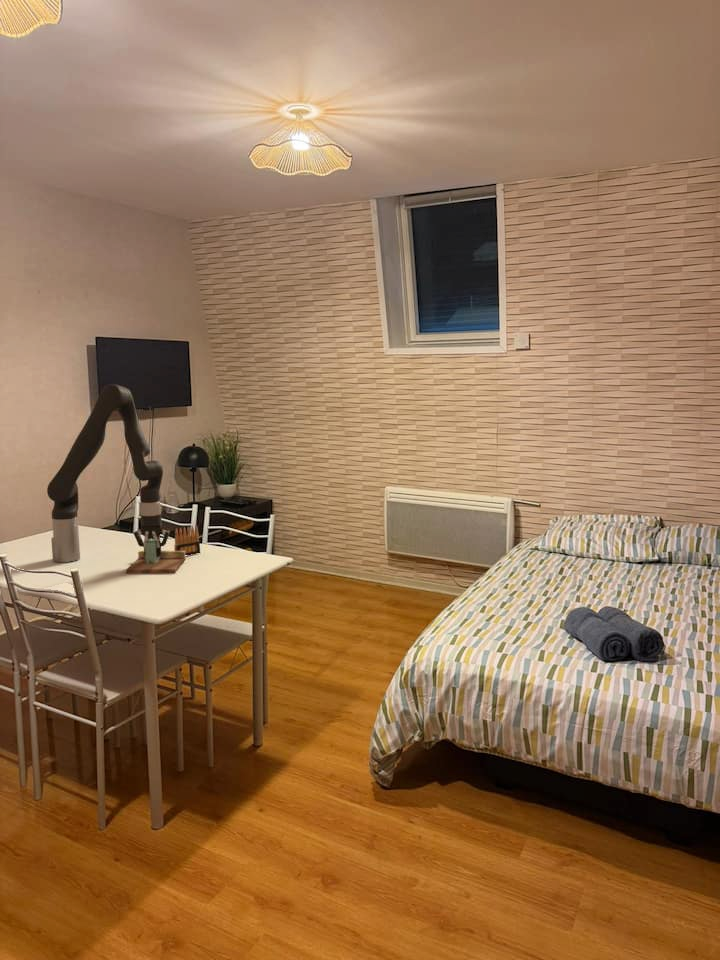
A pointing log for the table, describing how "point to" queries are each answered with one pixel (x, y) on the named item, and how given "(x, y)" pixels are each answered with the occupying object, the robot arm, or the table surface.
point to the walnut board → (158, 563)
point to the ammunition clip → (187, 541)
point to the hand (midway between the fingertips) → (153, 556)
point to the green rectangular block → (151, 551)
